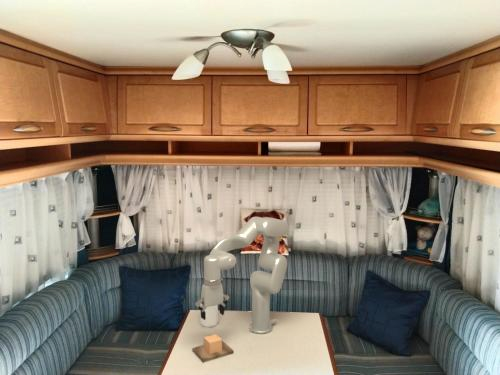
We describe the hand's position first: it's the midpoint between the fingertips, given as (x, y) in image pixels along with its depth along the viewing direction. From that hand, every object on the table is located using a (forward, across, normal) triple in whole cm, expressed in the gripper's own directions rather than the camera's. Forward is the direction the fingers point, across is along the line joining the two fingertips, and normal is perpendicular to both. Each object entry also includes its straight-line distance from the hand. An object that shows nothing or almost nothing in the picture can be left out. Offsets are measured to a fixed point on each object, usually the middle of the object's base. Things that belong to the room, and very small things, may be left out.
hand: (212, 316), depth 211 cm
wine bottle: (+18, -12, -28) cm, 35 cm away
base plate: (+18, 0, 0) cm, 18 cm away
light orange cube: (+17, 0, 0) cm, 17 cm away
